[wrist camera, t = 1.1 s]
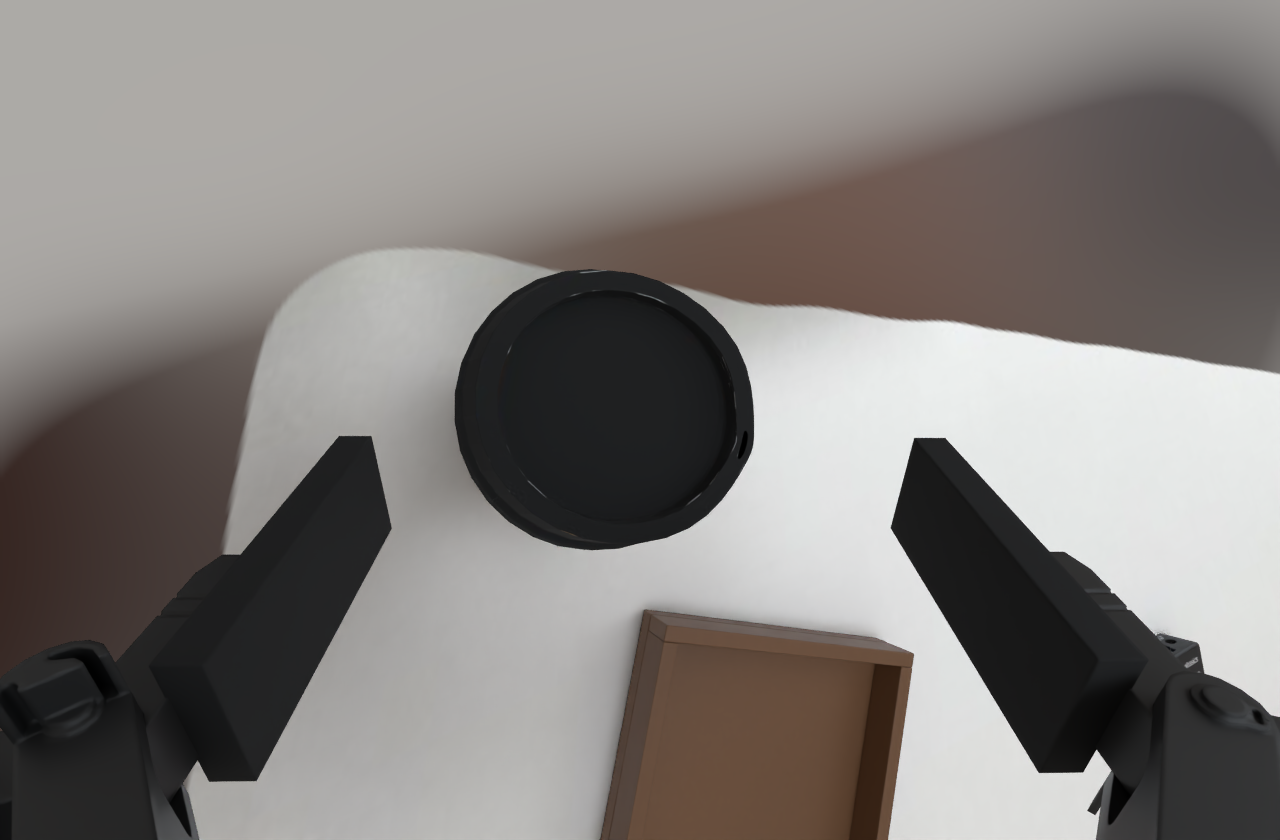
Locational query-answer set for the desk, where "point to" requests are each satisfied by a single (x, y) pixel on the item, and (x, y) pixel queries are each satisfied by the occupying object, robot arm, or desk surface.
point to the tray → (757, 733)
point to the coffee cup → (603, 410)
